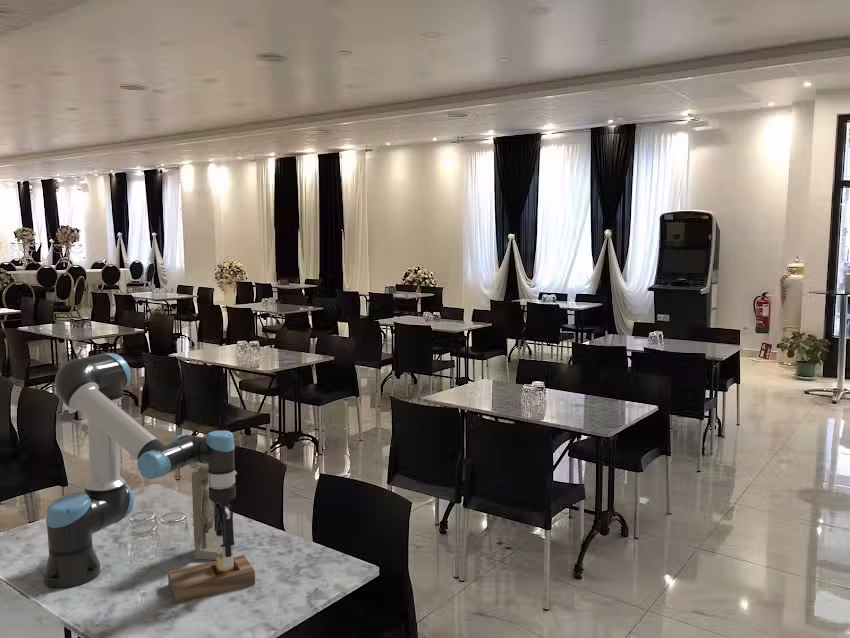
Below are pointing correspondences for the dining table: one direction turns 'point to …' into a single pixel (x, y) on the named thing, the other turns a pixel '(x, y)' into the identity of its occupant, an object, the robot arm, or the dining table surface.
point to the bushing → (220, 565)
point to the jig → (209, 579)
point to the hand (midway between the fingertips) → (225, 561)
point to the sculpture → (203, 516)
